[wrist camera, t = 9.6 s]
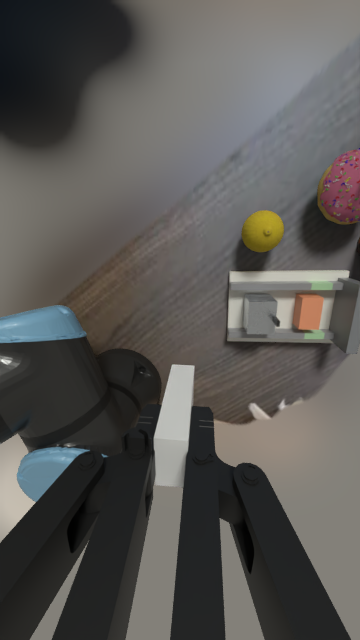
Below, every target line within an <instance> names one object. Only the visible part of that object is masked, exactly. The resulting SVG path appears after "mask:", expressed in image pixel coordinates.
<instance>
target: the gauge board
mask: <svg viewBox="0 0 360 640" xmlns="http://www.w3.org/2000/svg"><path fill="white" fill-rule="evenodd" d="M349 272H350V271H347V270H305V271H229V296H228V323H227V341H249V342H301V343H334V344H336V345H337V346H338V347H339V348H340V349H341V350H343V351H344V352H345V353H348V354H357V351H358V347H359V342H360V281H357V280H354V279H351V278H348V277H349ZM244 294H270V295H271V296H272V297H273V298H274V299H275V300H276V301H277V302H278V306H277V315H276V317H277V318H278V319H279V321H280V327H276V325H275V334H247V333H246V330H245V327H244V325H243V311H244ZM296 294H317V295H319V296H321V297H323V298H324V301H323V307H322V313H321V320H320V326H319V330H305V329H298V328H297V327H296V326H295V325H294V324H293V315H294V307H295V299H296Z"/></svg>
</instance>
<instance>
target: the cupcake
mask: <svg viewBox="0 0 360 640" xmlns="http://www.w3.org/2000/svg"><path fill="white" fill-rule="evenodd" d="M317 195H318V207H319V208H320V210H321V212H322V213H323V215H324V216H325V218H326V219H328V220H330V221H333V222H335V223H337V224H353V223H356V222H359V221H360V148H359V149H356V150H352V151H348V152H345V153H344V154H342V155H340V156H339V157H338V158H336V159H335V161H334V163H333V164H332V165H331V166H330V167H329V168H328V169H327V170H326V171H325V172H324V174H323V176H322V178H321V180H320V182H319V185H318V193H317Z"/></svg>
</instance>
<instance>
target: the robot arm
mask: <svg viewBox="0 0 360 640" xmlns="http://www.w3.org/2000/svg"><path fill="white" fill-rule="evenodd" d="M86 336H87V335H86V332H84V331H83V329H82V327H81V325H80V324H79V322H78V320H77V318H76V316H75V314H74V313H73V311H72V310H71V309H69V308H68V307H65V306H61V305H56V306H50V307H45V308H40V309H35V310H31V311H27V312H22V313H18V314H14V315H10V316H5V317H2V318H0V444H1V443H3V442H5V441H6V440H8V439H9V438H11V437H12V436H14V435H16V434H17V433H18V434H19V435H20V437H21V439H22V440H23V442H24V444H25V445H26V447H27V449H28V451H29V453H28V454H27V455H25V456H24V458H23V459H22V460H21V463H20V466H19V468H18V473H17V481H18V483H19V485H20V487H21V489H22V490H23V492H24V493H25V494H26V495H27V496H28V497H29V498H31V499H32V500H33V501H35V502H36V503H35V504H34V505H33V506H32V508H31V509H30V510H29V511H28V512H27V513H26V514H25V515H24V517H23V518H22V519H21V520H20V521H19V522H18V523H17V525H16V526H15V527H14V528H13V529H12V530H11V531H10V532H9V534H8V535H7V536H6V537H5V538H4V539H3V540H2V542H1V543H0V640H30V638H31V636H32V634H33V633H34V631H35V630H36V628H37V626H38V624H39V623H40V621H41V619H42V618H43V616H44V614H45V613H46V611H47V609H48V608H49V606H50V604H51V603H52V601H53V599H54V598H55V596H56V594H57V593H58V591H59V589H60V588H61V586H62V584H63V583H64V581H65V579H66V578H67V575H68V574H69V573H70V571H71V569H72V568H73V566H74V564H75V563H76V561H77V559H78V558H79V556H80V554H81V553H82V551H83V549H84V548H85V546H86V544H87V543H88V545H87V547H86V550H85V553H84V555H83V558H82V561H81V563H80V566H79V569H78V571H77V574H76V576H75V579H74V582H73V584H72V587H71V590H70V593H69V595H68V598H67V601H66V603H65V606H64V608H63V611H62V614H61V616H60V619H59V622H58V625H57V627H56V630H55V632H54V635H53V638H52V640H125V638H126V633H127V628H128V623H129V618H130V612H131V608H132V602H133V597H134V592H135V587H136V582H137V577H138V572H139V566H140V562H141V556H142V551H143V546H144V541H145V536H146V530H147V525H148V520H149V515H150V510H151V505H152V500H153V485H154V480H155V485H161V486H172V487H182V488H183V499H182V510H181V522H180V534H179V545H178V556H177V568H176V580H175V591H174V602H173V614H172V625H171V637H170V640H225V621H224V600H223V582H222V581H223V580H222V561H221V540H220V520H219V518H221V519H223V520H225V521H227V522H229V524H230V527H231V531H232V534H233V537H234V540H235V544H236V547H237V550H238V553H239V557H240V560H241V563H242V567H243V570H244V573H245V576H246V580H247V583H248V586H249V590H250V593H251V596H252V599H253V603H254V606H255V609H256V613H257V615H258V619H259V622H260V625H261V629H262V632H263V636H264V639H265V640H351V639H350V637H349V635H348V633H347V631H346V629H345V627H344V625H343V623H342V622H341V619H340V617H339V615H338V614H337V612H336V610H335V608H334V606H333V604H332V602H331V600H330V598H329V596H328V594H327V592H326V590H325V588H324V586H323V585H322V583H321V581H320V579H319V577H318V575H317V573H316V571H315V569H314V567H313V565H312V563H311V561H310V559H309V558H308V556H307V554H306V552H305V550H304V548H303V546H302V544H301V542H300V540H299V538H298V536H297V535H296V532H295V531H294V529H293V527H292V525H291V523H290V521H289V519H288V517H287V515H286V513H285V511H284V510H283V508H282V505H281V504H280V502H279V500H278V498H277V496H276V494H275V492H274V490H273V488H272V486H271V484H270V482H269V480H268V478H267V477H266V475H265V473H264V472H263V471H262V470H261V469H260V468H259V467H258V466H256V465H253V464H251V463H242V464H239V465H238V466H237V467H233V466H230V465H228V464H226V463H224V462H223V461H221V460H220V459H219V458H218V456H217V455H216V452H215V443H214V442H215V441H214V420H213V413H212V411H211V409H210V408H209V407H198V406H193V391H194V366H191V365H172V367H171V371H170V375H169V379H168V383H167V387H166V391H165V395H164V399H163V403H162V405H159V404H157V402H158V400H159V396H160V393H161V379H160V376H159V373H158V371H157V369H156V368H155V366H154V365H153V364H152V363H151V362H150V361H149V360H148V359H147V358H146V357H144V356H143V355H141V354H139V353H137V352H135V351H132V350H127V349H112V350H108V351H105V352H103V353H101V354H100V355H99V356H97V357H95V355H94V353H93V351H92V349H91V347H90V344H89V342H88V340H87V338H86ZM88 541H89V542H88Z"/></svg>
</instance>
